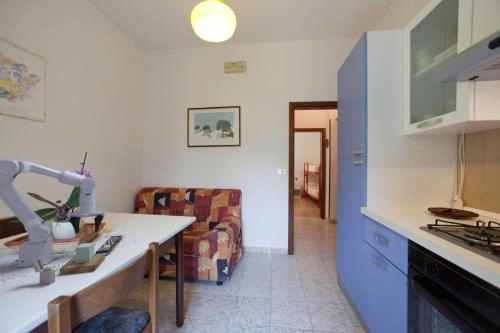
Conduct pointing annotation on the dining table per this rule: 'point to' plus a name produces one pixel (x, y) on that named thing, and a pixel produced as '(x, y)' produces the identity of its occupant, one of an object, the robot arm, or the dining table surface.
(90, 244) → the teal block
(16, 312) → the dining table surface
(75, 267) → the walnut base
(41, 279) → the lighter
